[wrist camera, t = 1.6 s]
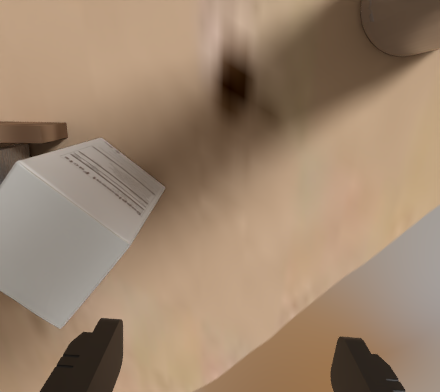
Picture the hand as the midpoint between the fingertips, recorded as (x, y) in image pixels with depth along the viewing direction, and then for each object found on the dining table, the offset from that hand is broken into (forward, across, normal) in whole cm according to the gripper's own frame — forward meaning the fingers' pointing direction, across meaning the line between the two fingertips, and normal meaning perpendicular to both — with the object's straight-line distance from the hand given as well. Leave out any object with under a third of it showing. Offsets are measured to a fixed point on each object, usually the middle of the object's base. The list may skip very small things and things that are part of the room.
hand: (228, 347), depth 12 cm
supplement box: (+24, +12, +2) cm, 27 cm away
